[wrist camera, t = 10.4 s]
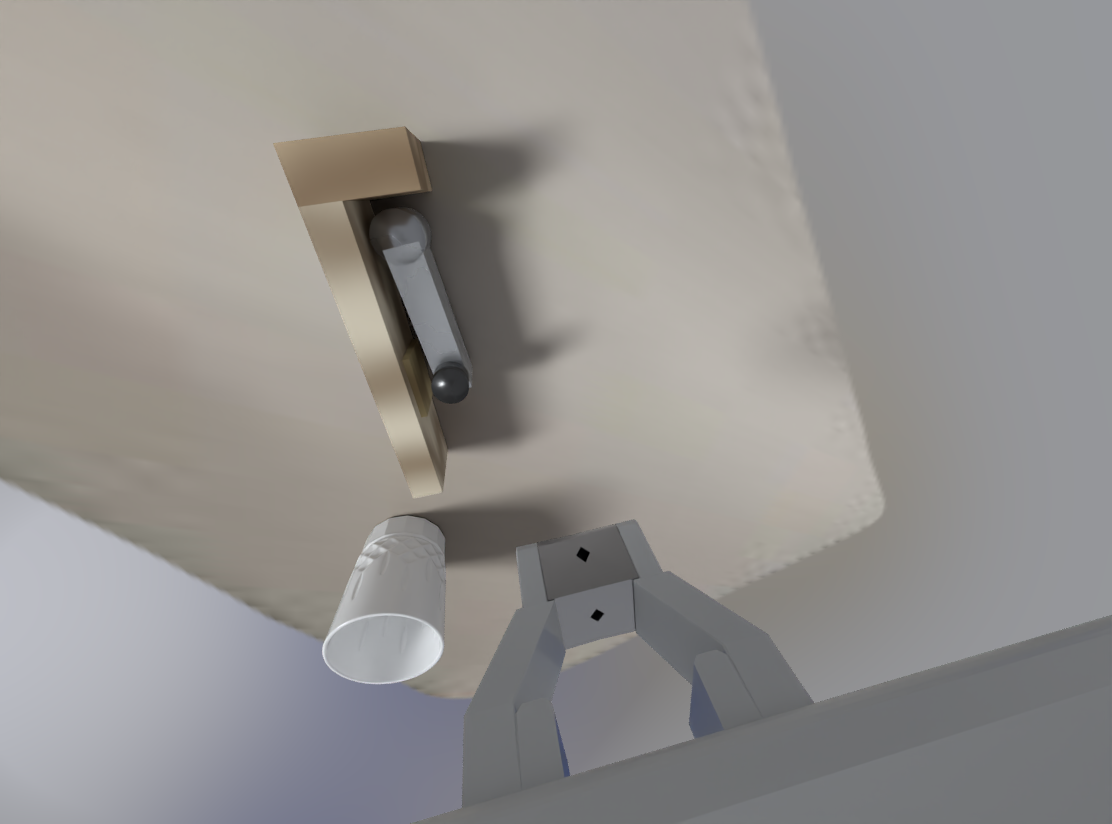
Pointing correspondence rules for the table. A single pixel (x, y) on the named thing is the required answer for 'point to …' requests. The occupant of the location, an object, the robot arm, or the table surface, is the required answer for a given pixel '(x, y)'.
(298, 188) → the wooden l-bracket
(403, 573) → the white cup
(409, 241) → the crank handle
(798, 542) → the table surface
